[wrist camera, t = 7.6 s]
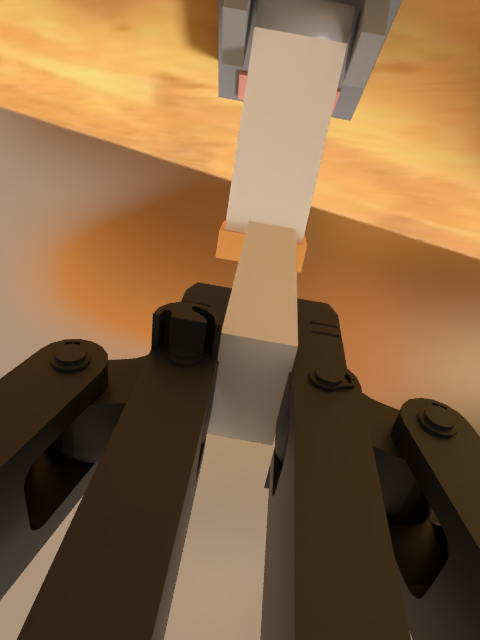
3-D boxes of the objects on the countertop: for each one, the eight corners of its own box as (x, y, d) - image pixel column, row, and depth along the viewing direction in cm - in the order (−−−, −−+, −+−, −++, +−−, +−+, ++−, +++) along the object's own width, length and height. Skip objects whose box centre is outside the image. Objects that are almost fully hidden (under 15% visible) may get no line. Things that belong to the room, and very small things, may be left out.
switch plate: (354, 86, 34) (345, 162, 33) (225, 63, 34) (209, 138, 33) (495, -266, 17) (487, -138, 15) (231, -314, 17) (197, -191, 15)
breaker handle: (355, 10, 25) (299, 259, 32) (256, -7, 25) (220, 245, 32) (364, 1, 23) (300, 272, 29) (254, -19, 23) (215, 257, 29)
